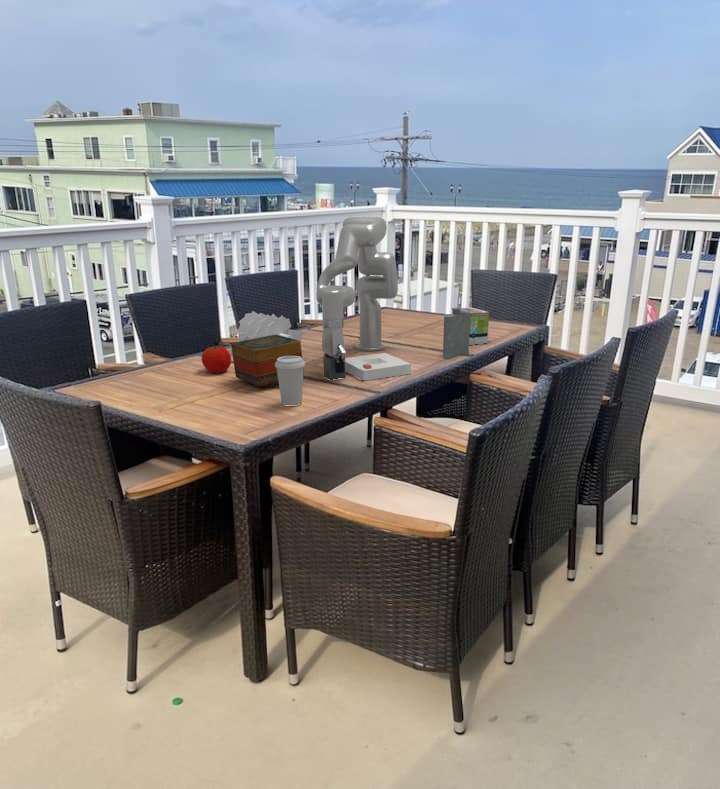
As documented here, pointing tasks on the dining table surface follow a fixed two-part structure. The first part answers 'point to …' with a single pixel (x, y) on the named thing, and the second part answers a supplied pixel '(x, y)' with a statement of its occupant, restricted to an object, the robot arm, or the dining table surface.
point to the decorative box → (262, 358)
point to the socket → (376, 366)
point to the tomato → (216, 359)
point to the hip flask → (456, 333)
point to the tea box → (477, 325)
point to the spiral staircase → (265, 327)
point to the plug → (331, 368)
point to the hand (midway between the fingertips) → (334, 369)
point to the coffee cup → (290, 379)
